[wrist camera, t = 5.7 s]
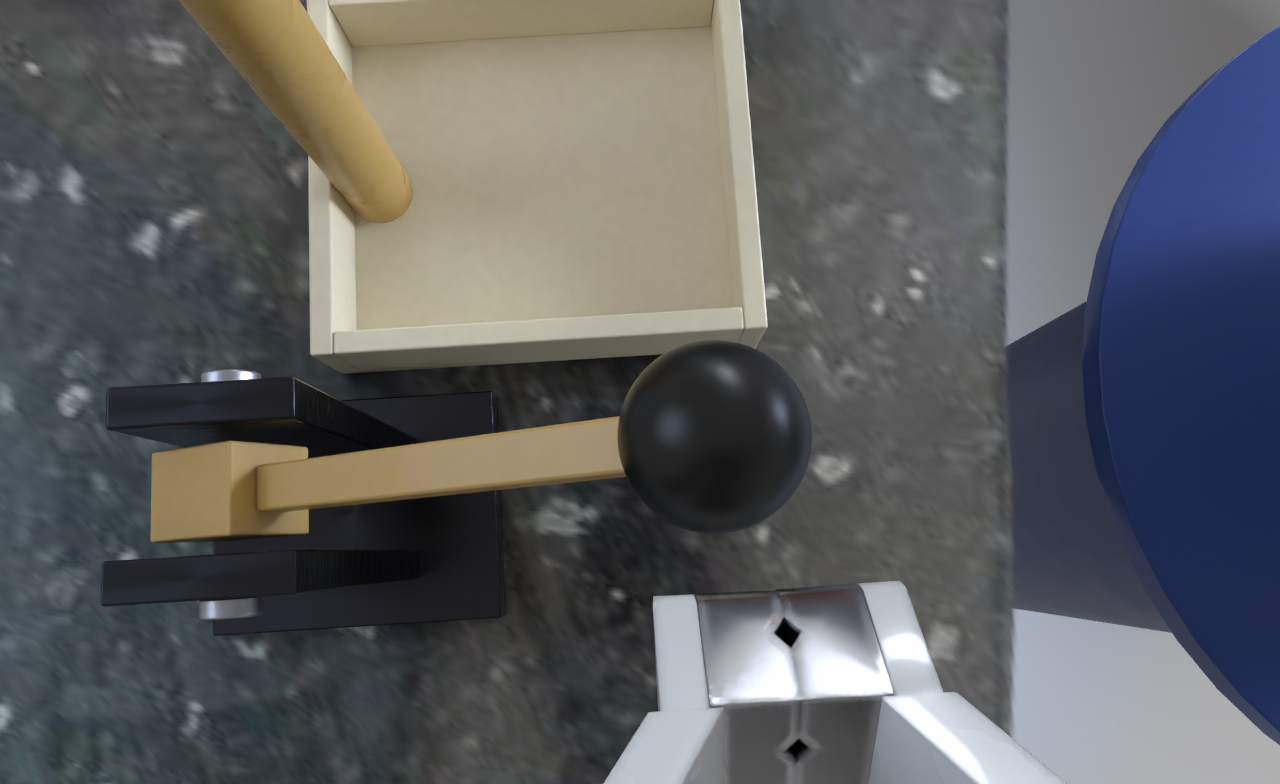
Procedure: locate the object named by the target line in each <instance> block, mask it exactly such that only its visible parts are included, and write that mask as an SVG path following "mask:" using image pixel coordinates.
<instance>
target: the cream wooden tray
mask: <svg viewBox="0 0 1280 784" xmlns="http://www.w3.org/2000/svg"><path fill="white" fill-rule="evenodd" d="M307 13H308V15H309V16H310V18H311V20H312V21H313V23H314V25H315V26H316V28H317V29H318V31H319V33H320V34H321V36H322V38H323V39H324V41H325V42H326V44H327V46H328V47H329V49H330V50H331V52H332V54H333V55H334V57H335V59H336V60H337V62H338V63H339V65H340V67H341V68H342V70H343V72H344V73H345V75H346V76H347V78H348V80H349V81H350V83H351V84H352V86H353V88H354V89H355V91H356V93H357V94H358V96H359V97H360V99H361V101H362V102H363V104H364V105H365V107H366V109H367V110H368V112H369V114H370V115H371V117H372V118H373V120H374V122H375V123H376V125H377V127H378V128H379V130H380V131H381V133H382V135H383V136H384V138H385V139H386V141H387V143H388V144H389V146H390V148H391V149H392V151H393V152H394V154H395V156H396V157H397V159H398V160H399V162H400V164H401V165H402V167H403V169H404V170H405V172H406V173H407V175H408V177H409V178H410V181H411V183H412V187H413V196H412V200H411V203H410V205H409V207H408V209H407V210H406V211H405V213H404V214H402V215H401V216H400V217H399V218H397V219H395V220H393V221H390V222H387V223H373V222H370V221H367V220H365V219H363V218H362V217H360V216H359V215H358V214H357V213H356V212H355V210H354V209H353V208H352V207H351V206H350V204H349V203H348V202H347V201H346V200H345V198H344V197H343V196H342V195H341V194H340V192H339V191H338V190H337V189H336V188H335V186H334V185H333V184H332V183H331V182H330V181H329V179H328V178H327V177H326V176H325V175H324V173H323V172H322V171H321V170H320V169H319V167H318V166H317V165H316V164H315V163H314V161H313V160H312V159H311V158H310V157H309V155H308V169H309V274H310V354H311V356H313V357H315V358H316V359H318V360H320V361H321V362H323V363H325V364H326V365H328V366H330V367H332V368H333V369H335V370H337V371H338V372H340V373H341V374H349V373H366V372H382V371H398V370H415V369H431V368H447V367H464V366H480V365H496V364H512V363H529V362H545V361H561V360H578V359H594V358H610V357H627V356H643V355H659V354H665V353H667V352H668V351H670V350H672V349H674V348H677V347H679V346H682V345H684V344H688V343H692V342H696V341H706V340H726V341H731V342H736V343H741V344H744V345H747V346H750V347H752V348H754V349H755V348H756V346H757V344H758V342H759V341H760V339H761V337H762V335H763V334H764V332H765V330H766V328H767V326H768V324H767V312H766V300H765V288H764V277H763V265H762V253H761V241H760V230H759V218H758V206H757V194H756V183H755V171H754V159H753V147H752V136H751V124H750V112H749V100H748V89H747V77H746V65H745V53H744V42H743V30H742V18H741V6H740V0H307Z"/></svg>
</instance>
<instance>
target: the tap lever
mask: <svg viewBox="0 0 1280 784" xmlns="http://www.w3.org/2000/svg"><path fill="white" fill-rule="evenodd" d="M811 441H812V438H811V423H810V417H809V413H808V409H807V406H806V403H805V401H804V398H803V396H802V394H801V392H800V390H799V389H798V387H797V385H796V384H795V382H794V381H793V379H792V378H791V377H790V376H789V374H788V373H787V372H786V371H785V370H784V369H783V368H782V367H781V366H780V365H779V364H778V363H777V362H776V361H774V360H773V359H771V358H770V357H768V356H767V355H765V354H764V353H762V352H760V351H758V350H756V349H754V348H752V347H750V346H747V345H744V344H741V343H736V342H731V341H726V340H706V341H696V342H692V343H688V344H684V345H682V346H679V347H677V348H674V349H672V350H670V351H668V352H667V353H665V354H663V355H661V356H660V357H658V358H657V359H656V360H654V361H653V362H652V363H651V364H650V365H649V366H648V367H647V368H645V369H644V371H643V372H642V373H641V374H640V375H639V377H638V378H637V379H636V380H635V382H634V383H633V385H632V386H631V388H630V390H629V392H628V394H627V396H626V398H625V400H624V403H623V406H622V409H621V412H620V416H618V417H610V418H603V419H596V420H588V421H581V422H573V423H566V424H559V425H551V426H544V427H536V428H529V429H522V430H514V431H507V432H499V433H492V434H485V435H477V436H470V437H462V438H455V439H448V440H440V441H433V442H426V443H418V444H411V445H403V446H396V447H389V448H381V449H374V450H366V451H359V452H352V453H344V454H337V455H329V456H322V457H315V458H308V448H307V447H304V446H292V445H280V444H268V443H256V442H244V441H231V440H230V441H224V442H217V443H211V444H204V445H198V446H191V447H185V448H178V449H172V450H165V451H159V452H154V453H153V454H152V482H151V542H153V543H170V542H210V541H237V540H249V539H260V538H271V537H283V536H294V535H306V534H308V532H309V509H318V508H328V507H338V506H348V505H357V504H367V503H377V502H386V501H396V500H406V499H416V498H425V497H435V496H445V495H455V494H464V493H474V492H484V491H493V490H503V489H513V488H523V487H532V486H542V485H552V484H562V483H571V482H581V481H591V480H600V479H610V478H620V477H627V479H628V481H629V483H630V485H631V487H632V488H633V490H634V491H635V493H636V494H637V496H638V497H639V498H640V499H641V500H642V501H643V502H644V503H645V504H646V506H647V507H649V508H650V509H651V510H652V511H653V512H654V513H656V514H657V515H658V516H660V517H661V518H663V519H664V520H666V521H668V522H670V523H672V524H674V525H676V526H679V527H681V528H684V529H687V530H690V531H695V532H702V533H709V534H722V533H729V532H735V531H739V530H742V529H746V528H749V527H751V526H754V525H756V524H758V523H760V522H762V521H763V520H765V519H767V518H768V517H770V516H771V515H773V514H774V513H775V512H776V511H778V510H779V509H780V508H781V507H782V506H783V505H784V504H785V503H786V502H787V501H788V500H789V499H790V498H791V496H792V495H793V493H794V492H795V490H796V489H797V488H798V486H799V484H800V482H801V480H802V478H803V476H804V473H805V470H806V468H807V465H808V461H809V456H810V451H811Z"/></svg>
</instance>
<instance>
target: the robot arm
mask: <svg viewBox="0 0 1280 784" xmlns="http://www.w3.org/2000/svg"><path fill="white" fill-rule="evenodd" d="M653 619H654V638H655V657H656V676H657V695H658V710H659V711H657V712H648V714H647V715H646V717H645V719H644V720H643V722H642V723H641V725H640V726H639V728H638V730H637V731H636V733H635V734H634V736H633V738H632V739H631V741H630V742H629V744H628V745H627V747H626V749H625V750H624V752H623V753H622V755H621V757H620V758H619V760H618V761H617V763H616V765H615V766H614V768H613V769H612V771H611V772H610V774H609V776H608V777H607V779H606V780H605V782H604V784H1066V783H1065V782H1064V781H1063V780H1062V779H1060V778H1059V777H1058V776H1057V775H1056V774H1055V773H1053V772H1052V771H1051V770H1050V769H1048V768H1047V767H1046V766H1045V765H1044V764H1042V763H1041V762H1040V761H1039V760H1038V759H1036V758H1035V757H1034V756H1033V755H1032V754H1030V753H1029V752H1028V751H1027V750H1026V749H1024V748H1023V747H1022V746H1021V745H1019V744H1018V743H1017V742H1016V741H1015V740H1014V739H1012V738H1011V737H1010V736H1009V735H1008V734H1006V733H1005V732H1004V731H1003V730H1002V729H1000V728H999V727H998V726H997V725H996V724H994V723H993V722H992V721H991V720H990V719H988V718H987V717H986V716H985V715H984V714H982V713H981V712H980V711H979V710H977V709H976V708H975V707H974V706H973V705H971V704H970V703H969V702H968V701H967V700H965V699H964V698H963V697H962V696H961V695H959V694H958V693H957V692H943V689H942V686H941V683H940V681H939V678H938V675H937V672H936V670H935V667H934V664H933V661H932V658H931V656H930V653H929V650H928V647H927V645H926V642H925V639H924V636H923V634H922V631H921V628H920V625H919V622H918V620H917V617H916V614H915V611H914V609H913V606H912V603H911V600H910V598H909V595H908V592H907V589H906V587H905V586H904V585H903V584H902V583H901V582H900V581H889V582H875V583H861V584H858V585H857V584H855V583H854V584H841V585H828V586H815V587H802V588H789V589H776V590H775V591H755V592H730V593H704V594H696V595H695V596H694V594H693V595H671V596H653Z"/></svg>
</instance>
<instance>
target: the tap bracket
mask: <svg viewBox="0 0 1280 784" xmlns="http://www.w3.org/2000/svg"><path fill="white" fill-rule="evenodd" d="M106 428H107V429H108V430H111V431H116V432H120V433H124V434H129V435H133V436H138V437H142V438H146V439H151V440H155V441H159V442H164V443H168V444H173V445H177V446H181V447H191V446H198V445H204V444H211V443H217V442H224V441H230V440H231V441H244V442H256V443H268V444H280V445H292V446H304V447H307V448H308V458H315V457H322V456H329V455H337V454H344V453H352V452H359V451H366V450H374V449H381V448H389V447H396V446H403V445H411V444H418V443H426V442H433V441H440V440H448V439H455V438H462V437H470V436H477V435H485V434H492V433H498V413H497V397H496V396H495V395H494V394H493V392H491V391H486V392H469V393H453V394H437V395H421V396H404V397H388V398H372V399H356V400H338V399H336V398H334V397H332V396H330V395H328V394H326V393H324V392H322V391H321V390H319V389H317V388H315V387H313V386H311V385H309V384H307V383H305V382H303V381H301V380H299V379H297V378H295V377H277V378H261V375H260V374H259V373H257V372H254V371H249V370H239V369H220V370H211V371H207V372H204V373H202V375H201V382H196V383H180V384H163V385H147V386H131V387H114V388H109V389H107V394H106ZM198 600H200V601H199V619H200V620H213V635H214V636H218V635H234V634H249V633H265V632H281V631H296V630H312V629H328V628H343V627H359V626H374V625H390V624H406V623H421V622H437V621H453V620H468V619H484V618H499V617H501V616H504V615H505V589H504V564H503V538H502V513H501V490H493V491H484V492H474V493H464V494H455V495H445V496H435V497H425V498H416V499H406V500H396V501H386V502H377V503H367V504H357V505H348V506H338V507H328V508H318V509H309V532H308V534H306V535H294V536H283V537H271V538H260V539H249V540H237V541H214V555H200V556H184V557H168V558H152V559H136V560H120V561H105V562H103V563H102V582H101V605H102V606H120V605H135V604H151V603H167V602H183V601H198Z"/></svg>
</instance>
